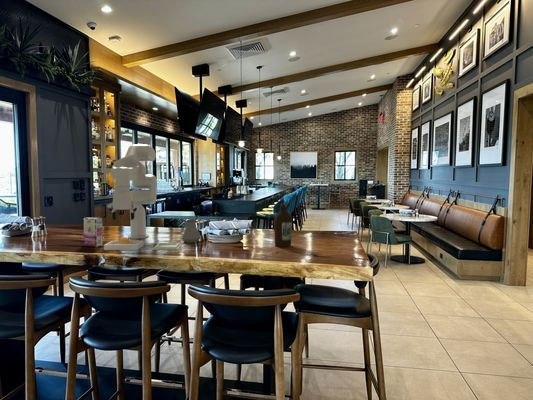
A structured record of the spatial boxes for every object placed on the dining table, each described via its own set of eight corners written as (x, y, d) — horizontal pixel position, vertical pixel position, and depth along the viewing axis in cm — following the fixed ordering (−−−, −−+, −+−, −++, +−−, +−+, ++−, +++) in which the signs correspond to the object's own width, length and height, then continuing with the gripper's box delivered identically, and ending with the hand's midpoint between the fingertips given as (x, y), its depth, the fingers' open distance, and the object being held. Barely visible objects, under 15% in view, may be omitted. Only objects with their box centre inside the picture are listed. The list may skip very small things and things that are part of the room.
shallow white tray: (112, 245, 202) (112, 240, 202) (143, 245, 204) (143, 240, 203) (104, 250, 190) (104, 244, 190) (137, 249, 192) (137, 244, 191)
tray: (157, 245, 205) (157, 242, 204) (181, 244, 206) (181, 242, 205) (151, 249, 192) (151, 247, 192) (177, 249, 193) (177, 247, 193)
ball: (121, 246, 200) (120, 236, 199) (131, 246, 200) (131, 236, 200) (117, 248, 194) (117, 238, 193) (128, 248, 194) (128, 238, 194)
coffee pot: (197, 243, 209) (197, 219, 208) (179, 243, 210) (178, 218, 209) (206, 237, 230) (206, 215, 229) (189, 237, 231) (189, 214, 230)
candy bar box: (103, 245, 202) (103, 218, 201) (96, 247, 198) (95, 219, 197) (91, 243, 207) (90, 216, 206) (83, 245, 203) (82, 217, 202)
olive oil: (270, 245, 205) (270, 203, 203) (284, 243, 211) (285, 202, 209) (280, 248, 196) (281, 204, 194) (295, 246, 202) (296, 204, 200)
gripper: (104, 189, 190) (105, 220, 191) (136, 189, 191) (137, 220, 192) (109, 189, 198) (110, 219, 198) (140, 189, 199) (141, 218, 200)
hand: (123, 219), depth 195 cm, fingers open, 9 cm apart
